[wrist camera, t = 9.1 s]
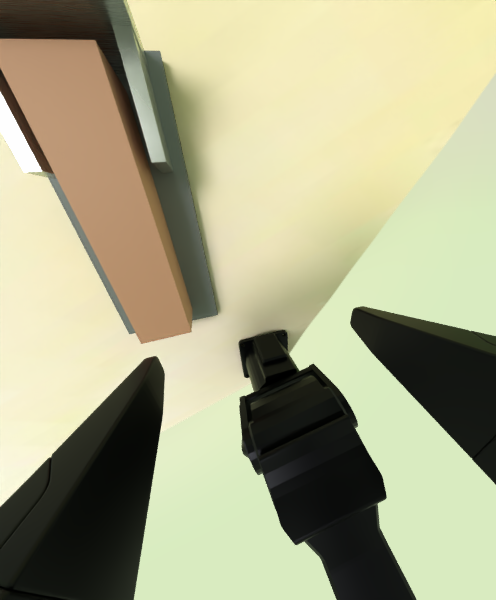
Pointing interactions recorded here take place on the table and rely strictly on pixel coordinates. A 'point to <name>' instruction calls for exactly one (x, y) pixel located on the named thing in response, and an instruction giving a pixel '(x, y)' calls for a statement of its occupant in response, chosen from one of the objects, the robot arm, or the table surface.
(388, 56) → the table surface
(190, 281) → the board
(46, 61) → the rail
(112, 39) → the bracket
